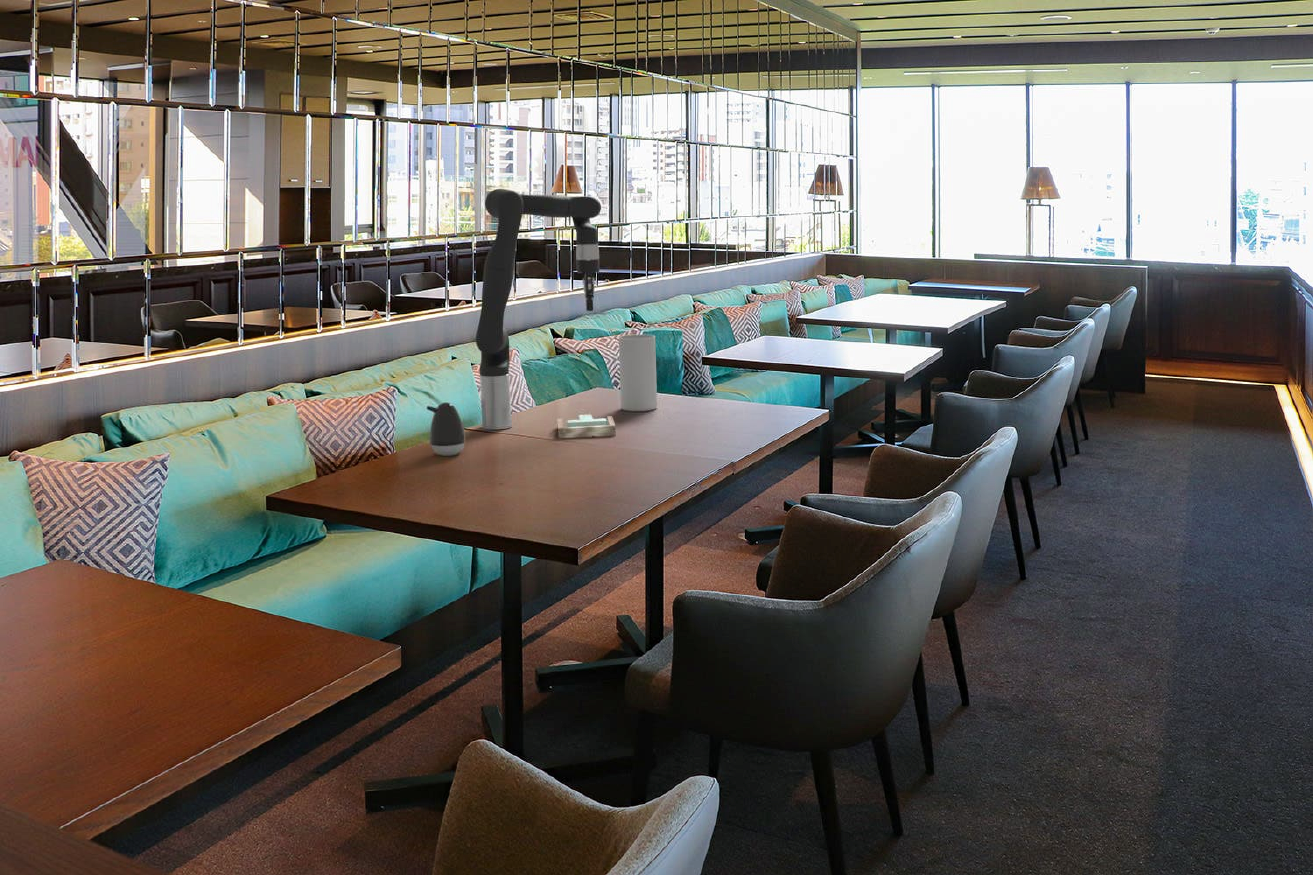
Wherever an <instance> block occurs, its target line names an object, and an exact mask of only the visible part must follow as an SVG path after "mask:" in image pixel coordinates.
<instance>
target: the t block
mask: <svg viewBox="0 0 1313 875" xmlns="http://www.w3.org/2000/svg"><path fill="white" fill-rule="evenodd" d="M566 424H567V427H583V426H604V425H607V417H606V418H605V417H604V418H593V416H592V414H591V413H590V414H579V415H578V419H569V420H567V423H566Z"/></svg>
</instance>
